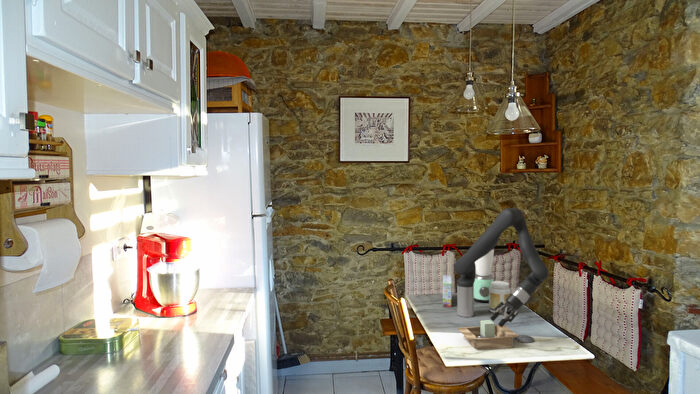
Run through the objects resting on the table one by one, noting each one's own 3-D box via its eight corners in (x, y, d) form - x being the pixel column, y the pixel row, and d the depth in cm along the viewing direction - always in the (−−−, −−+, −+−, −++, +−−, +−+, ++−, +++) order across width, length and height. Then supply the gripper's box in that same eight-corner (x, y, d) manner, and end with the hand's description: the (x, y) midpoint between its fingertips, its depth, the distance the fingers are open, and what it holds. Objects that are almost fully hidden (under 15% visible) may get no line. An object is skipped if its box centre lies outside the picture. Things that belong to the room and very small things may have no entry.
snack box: (452, 307, 266) (452, 283, 265) (442, 307, 267) (442, 283, 266) (451, 297, 287) (451, 275, 286) (442, 297, 288) (442, 274, 287)
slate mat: (511, 336, 218) (511, 335, 218) (527, 335, 219) (527, 334, 219) (520, 343, 209) (520, 342, 209) (537, 342, 211) (537, 341, 211)
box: (480, 340, 214) (480, 320, 214) (490, 339, 215) (490, 319, 214) (484, 344, 209) (484, 324, 209) (494, 343, 210) (494, 323, 209)
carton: (457, 337, 218) (457, 327, 218) (503, 334, 221) (503, 324, 221) (469, 350, 203) (469, 339, 203) (519, 346, 206) (519, 336, 206)
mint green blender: (496, 304, 270) (496, 248, 268) (474, 304, 272) (474, 248, 270) (491, 295, 289) (491, 243, 286) (470, 295, 291) (470, 243, 288)
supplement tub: (507, 308, 262) (507, 280, 261) (513, 314, 250) (513, 285, 249) (486, 308, 264) (487, 280, 263) (491, 314, 252) (491, 285, 251)
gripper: (505, 289, 219) (484, 313, 219) (520, 297, 205) (497, 322, 204) (515, 299, 220) (494, 322, 220) (530, 307, 206) (507, 333, 205)
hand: (495, 322), depth 212 cm, fingers open, 8 cm apart
